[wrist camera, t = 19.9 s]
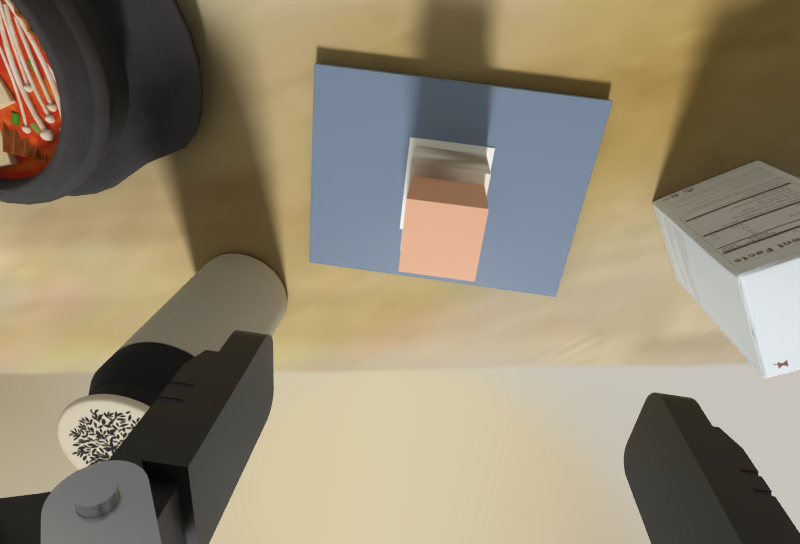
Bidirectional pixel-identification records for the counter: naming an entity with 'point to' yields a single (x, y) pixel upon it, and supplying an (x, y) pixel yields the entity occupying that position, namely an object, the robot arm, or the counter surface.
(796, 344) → the supplement box
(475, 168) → the cream block
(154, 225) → the counter surface
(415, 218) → the terracotta cube
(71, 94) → the casserole
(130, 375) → the travel mug
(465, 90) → the blue board
